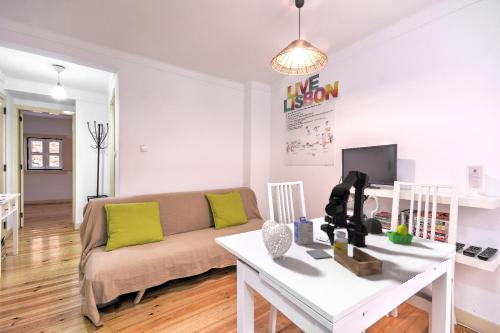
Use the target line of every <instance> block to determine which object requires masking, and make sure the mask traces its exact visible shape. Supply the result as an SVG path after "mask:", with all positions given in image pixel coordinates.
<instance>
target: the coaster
mask: <svg viewBox="0 0 500 333" xmlns="http://www.w3.org/2000/svg"><path fill="white" fill-rule="evenodd" d="M305 253H307V254H308V255H309V256H310V257H311V258H312V259H314V260H319V259H320V260H322V259H331V258H333V256H332V255H331V254H330V253H328V252H327V251H325V250H323V249H322V248H321V249H311V250H306V251H305Z"/></svg>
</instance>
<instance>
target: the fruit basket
mask: <svg viewBox="0 0 500 333" xmlns="http://www.w3.org/2000/svg"><path fill="white" fill-rule="evenodd" d="M395 230H396V231H391V230H388V231H386V235H387V237H388V241H389V242H391V243H393V244H399V245H400V244H403V245H411V244H412V240H413V238H414V235H413V234H412V233H409V229H408V226H407V224H405V223H401V224H400V225H398V226H396V229H395Z"/></svg>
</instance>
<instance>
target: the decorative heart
mask: <svg viewBox="0 0 500 333" xmlns="http://www.w3.org/2000/svg"><path fill="white" fill-rule="evenodd" d="M261 227H262V228H261V238H262V242H263V244H264V246H265V248H266V250H267V252H268V253H267V254H268V256H270V255H271V257H272V258H274V259H279V260H282V256H283V260H282V261H283V262H285V260H286V259H285V254H286V253H287V252H288V251H289V249H290V248H291V246H292V245H293V237H294V235H293V232H292V228H291V227H289V225H287V224H286V223H278V222H277V221H275V220H273V219H268V220H266V221H264V222H263V224H262V226H261Z"/></svg>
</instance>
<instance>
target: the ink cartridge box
mask: <svg viewBox="0 0 500 333" xmlns="http://www.w3.org/2000/svg"><path fill="white" fill-rule="evenodd" d="M293 234H294V235H293V237H294V242H293V243H294V244H296V245H297V246H302V245H309V244H310V245H311V244H314V222H313V221H312V220H310V219H306V216H300V217H299V220H297V221H296V220H295V221H293Z"/></svg>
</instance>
